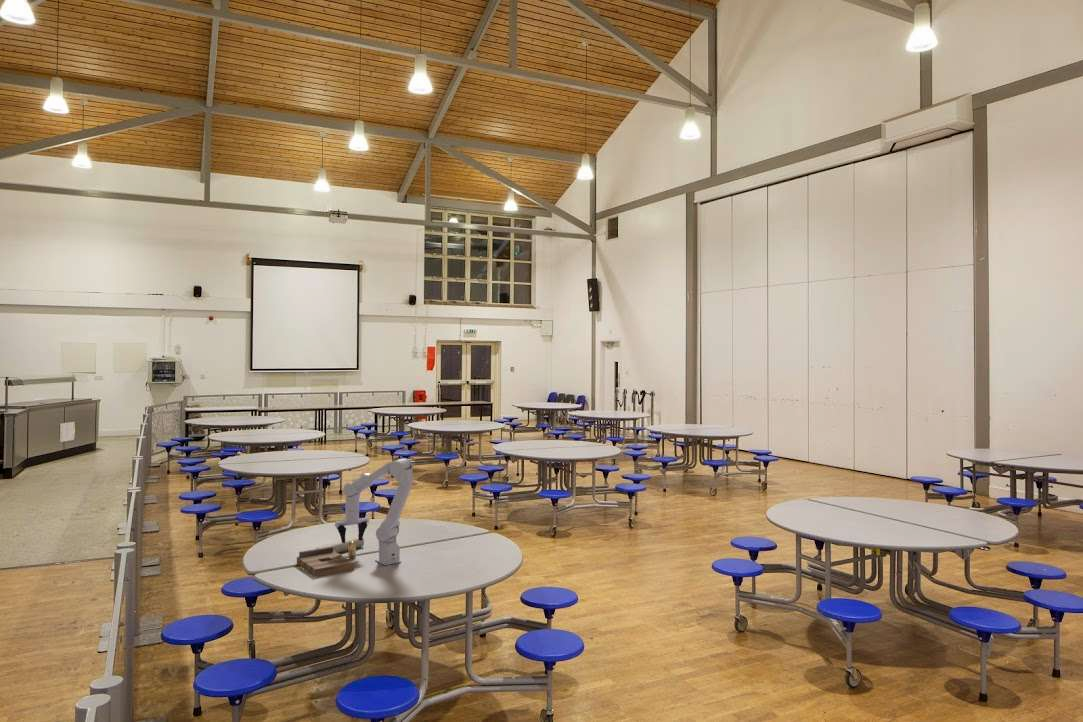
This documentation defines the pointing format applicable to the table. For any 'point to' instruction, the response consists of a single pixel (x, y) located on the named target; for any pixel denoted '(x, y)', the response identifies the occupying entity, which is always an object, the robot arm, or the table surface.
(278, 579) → the table surface
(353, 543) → the brass cylinder
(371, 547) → the table surface
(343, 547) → the tube
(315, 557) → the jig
